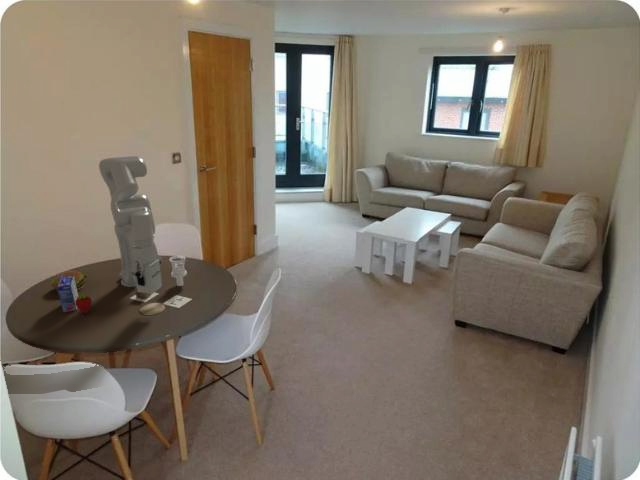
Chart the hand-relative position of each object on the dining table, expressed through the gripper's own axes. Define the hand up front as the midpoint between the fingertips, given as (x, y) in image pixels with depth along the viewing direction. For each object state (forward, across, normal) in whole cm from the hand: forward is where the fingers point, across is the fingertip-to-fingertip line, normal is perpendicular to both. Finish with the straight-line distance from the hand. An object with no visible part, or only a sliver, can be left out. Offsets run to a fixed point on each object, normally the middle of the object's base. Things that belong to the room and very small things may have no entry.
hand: (149, 280), depth 182 cm
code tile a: (+14, -10, +5) cm, 18 cm away
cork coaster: (+14, 0, 0) cm, 14 cm away
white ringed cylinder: (+14, -24, -5) cm, 28 cm away
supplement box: (+4, 0, 0) cm, 4 cm away
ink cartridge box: (+14, +12, -34) cm, 39 cm away
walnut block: (+13, -8, -12) cm, 20 cm away
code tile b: (+14, -8, -12) cm, 20 cm away
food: (+14, 0, -49) cm, 51 cm away
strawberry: (+14, +14, -23) cm, 30 cm away
